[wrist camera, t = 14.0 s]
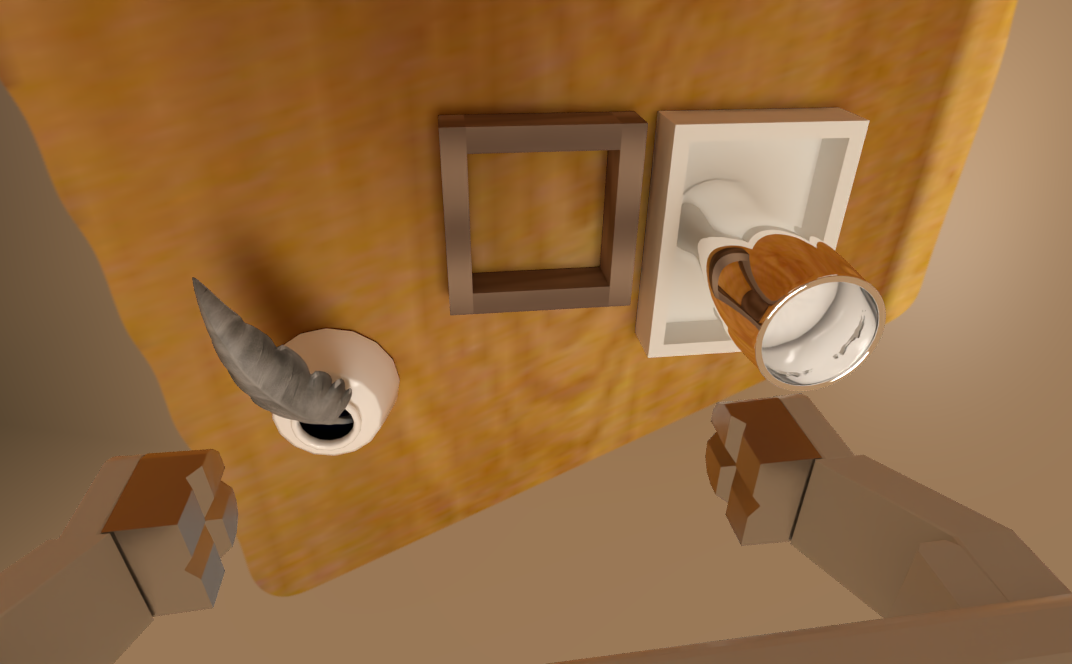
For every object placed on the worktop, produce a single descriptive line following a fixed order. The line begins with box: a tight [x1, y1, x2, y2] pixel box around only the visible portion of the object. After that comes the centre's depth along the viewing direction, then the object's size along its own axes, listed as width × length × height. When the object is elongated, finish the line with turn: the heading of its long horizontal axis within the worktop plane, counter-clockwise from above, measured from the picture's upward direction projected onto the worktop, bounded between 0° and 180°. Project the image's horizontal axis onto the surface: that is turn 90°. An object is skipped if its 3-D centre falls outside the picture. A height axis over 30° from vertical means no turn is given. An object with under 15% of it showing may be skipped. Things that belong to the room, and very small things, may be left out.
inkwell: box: [192, 277, 400, 455], centre depth 41 cm, size 9×18×10 cm, turn 21°
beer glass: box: [676, 179, 886, 391], centre depth 38 cm, size 7×7×15 cm
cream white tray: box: [635, 107, 869, 358], centre depth 44 cm, size 16×12×4 cm
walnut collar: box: [438, 111, 648, 315], centre depth 42 cm, size 12×12×3 cm
